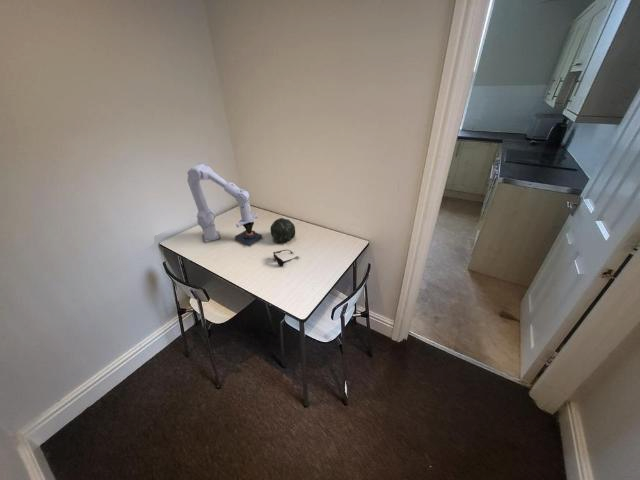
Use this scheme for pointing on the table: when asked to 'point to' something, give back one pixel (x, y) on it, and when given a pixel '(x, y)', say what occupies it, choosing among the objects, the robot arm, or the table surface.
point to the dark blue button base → (248, 238)
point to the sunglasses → (280, 259)
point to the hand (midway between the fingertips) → (249, 233)
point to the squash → (282, 230)
